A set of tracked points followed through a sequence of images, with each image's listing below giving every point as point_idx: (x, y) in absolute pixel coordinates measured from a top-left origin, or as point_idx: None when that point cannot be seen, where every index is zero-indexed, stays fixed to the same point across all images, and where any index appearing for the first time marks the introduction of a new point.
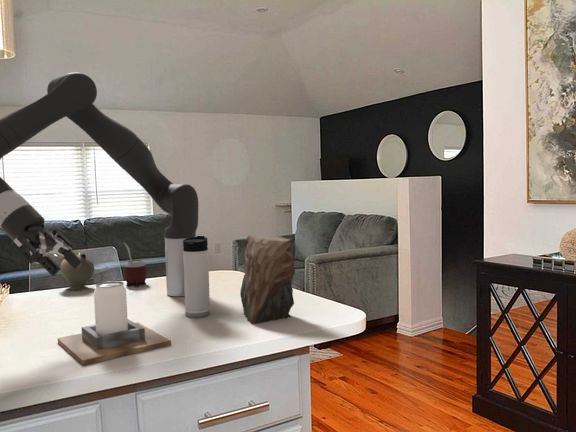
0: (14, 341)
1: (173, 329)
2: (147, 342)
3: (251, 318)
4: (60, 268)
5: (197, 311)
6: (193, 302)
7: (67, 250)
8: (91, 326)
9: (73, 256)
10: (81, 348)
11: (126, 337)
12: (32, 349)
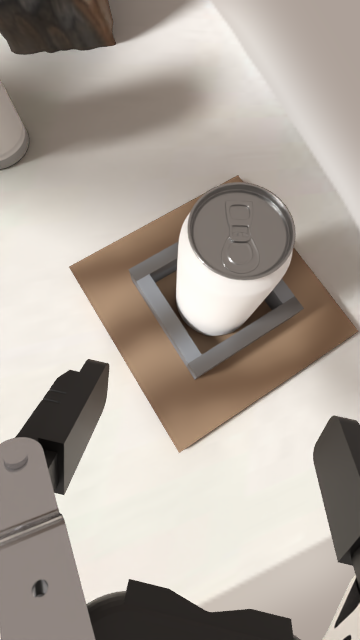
0: None
1: (118, 187)
2: None
3: (110, 31)
4: (338, 416)
5: (21, 130)
6: (10, 117)
7: (48, 468)
8: (193, 350)
9: (87, 409)
10: (275, 358)
11: None
12: (227, 504)
